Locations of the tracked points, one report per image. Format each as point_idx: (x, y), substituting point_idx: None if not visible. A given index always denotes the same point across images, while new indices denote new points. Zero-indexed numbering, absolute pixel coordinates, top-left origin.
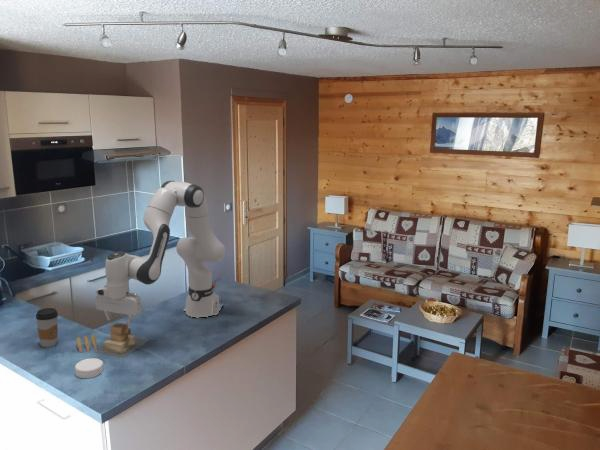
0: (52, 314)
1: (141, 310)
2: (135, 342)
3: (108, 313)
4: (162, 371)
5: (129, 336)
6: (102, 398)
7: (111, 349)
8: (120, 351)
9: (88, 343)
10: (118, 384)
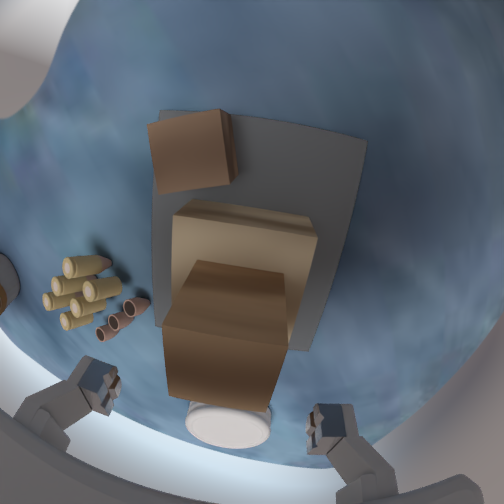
0: None
1: (476, 498)
2: (300, 190)
3: (62, 410)
4: (445, 368)
5: (283, 255)
6: (321, 457)
7: None
8: None
9: (97, 307)
10: None
